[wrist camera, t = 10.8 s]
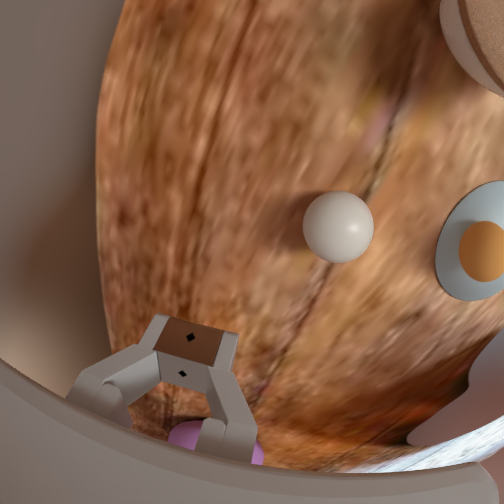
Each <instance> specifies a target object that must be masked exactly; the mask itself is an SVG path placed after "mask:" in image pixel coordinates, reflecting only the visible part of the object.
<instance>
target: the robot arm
mask: <svg viewBox="0 0 504 504" xmlns="http://www.w3.org/2000/svg"><path fill="white" fill-rule="evenodd" d="M238 339H239V334H237V333H233V332H229V331H225V330H221V329H217V328H213V327H209V326H204V325H200V324H195V323H191V322H188V321H185V320H181V319H178V318H175V317H172V316H168V315H165V314H161V313H157V314H156V315H155V316H154V317H153V319H152V321H151V323H150V324H149V326H148V328H147V330H146V331H145V333H144V335H143V337H142V338H141V340H140V342H139V344H138V345H136V344H133V345H131V346H129V347H127V348H125V349H123V350H121V351H119V352H117V353H116V354H114V355H112V356H110V357H108V358H106V359H104V360H102V361H100V362H98V363H96V364H94V365H92V366H90V367H88V368H87V369H84V370H83V371H81V373H80V375H79V376H78V378H77V380H76V381H75V383H74V384H73V386H72V388H71V389H70V391H69V393H68V395H67V396H66V398H63V397H61V396H59V395H57V394H55V393H54V392H52V391H50V390H48V389H47V388H45V387H43V386H42V385H40V384H38V383H37V382H35V381H34V380H32V379H30V378H29V377H27V376H25V375H24V374H23V373H21V372H20V371H18V370H17V369H15V368H13V367H12V366H11V365H9V364H8V363H6V362H5V361H4V360H2V359H1V358H0V504H499V495H498V488H497V485H496V483H495V481H494V480H493V478H492V477H491V476H490V475H489V474H488V472H487V471H486V470H485V469H484V468H483V467H482V466H481V465H480V464H479V463H478V462H467V463H462V464H457V465H451V466H445V467H439V468H432V469H424V470H414V471H403V472H388V473H330V472H314V471H302V470H293V469H284V468H277V467H270V466H263V465H257V464H251V462H252V456H253V451H254V446H255V441H256V435H257V430H258V427H257V424H256V422H255V420H254V418H253V416H252V414H251V411H250V409H249V407H248V405H247V402H246V400H245V398H244V396H243V393H242V391H241V389H240V387H239V384H238V382H237V380H236V377H235V375H234V373H233V372H232V368H233V364H234V359H235V354H236V349H237V344H238ZM161 381H164V382H167V383H171V384H174V385H178V386H181V387H185V388H188V389H191V390H194V391H198V392H201V393H204V394H206V398H207V401H208V404H209V407H210V410H211V414H212V417H213V418H207V419H205V420H204V421H203V424H202V427H201V430H200V433H199V437H198V440H197V443H196V446H195V449H194V450H191V449H187V448H184V447H180V446H177V445H174V444H171V443H168V442H165V441H162V440H159V439H156V438H153V437H150V436H147V435H145V434H142V433H139V432H137V431H134V430H131V426H132V424H133V420H132V418H131V416H130V414H129V411H128V409H127V406H128V405H130V404H131V403H133V402H134V401H135V400H137V399H138V398H140V397H141V396H142V395H144V394H145V393H146V392H148V391H149V390H151V389H152V388H153V387H155V386H156V385H157V384H159V383H160V382H161Z"/></svg>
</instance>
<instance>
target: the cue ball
mask: <svg viewBox="0 0 504 504" xmlns="http://www.w3.org/2000/svg"><path fill="white" fill-rule="evenodd" d="M373 230H374V224H373V218H372V215H371V212H370V210H369V208H368V207H367V205H366V204H365V203H364V202H363V201H362V200H361V199H360V198H359V197H357V196H356V195H354V194H352V193H349V192H346V191H330V192H326V193H324V194H322V195H320V196H318V197H317V198H316V199H315V200H314V201H312V203H311V204H310V205H309V207H308V208H307V210H306V212H305V215H304V219H303V234H304V238H305V240H306V243H307V245H308V246H309V248H310V249H311V250H312V251H313V253H315V254H316V255H317V256H318V257H320V258H321V259H323V260H326V261H329V262H333V263H345V262H349V261H352V260H354V259H356V258H357V257H359V256H360V255H361V254H362V253H363V252H364V251H365V250H366V249H367V248H368V246H369V244H370V242H371V240H372V237H373Z"/></svg>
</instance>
